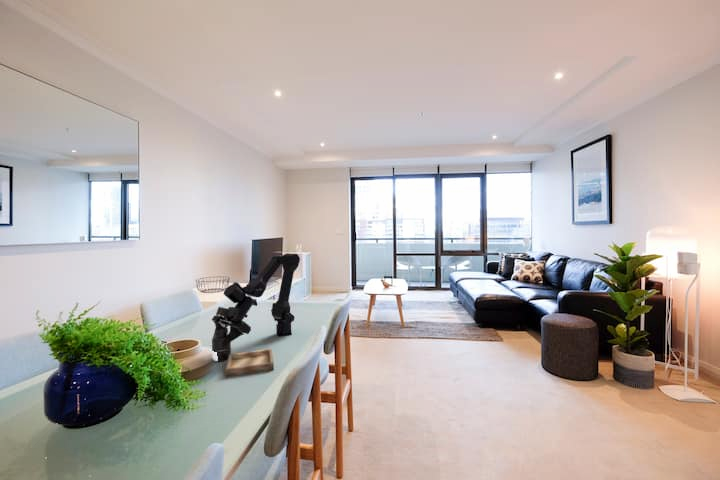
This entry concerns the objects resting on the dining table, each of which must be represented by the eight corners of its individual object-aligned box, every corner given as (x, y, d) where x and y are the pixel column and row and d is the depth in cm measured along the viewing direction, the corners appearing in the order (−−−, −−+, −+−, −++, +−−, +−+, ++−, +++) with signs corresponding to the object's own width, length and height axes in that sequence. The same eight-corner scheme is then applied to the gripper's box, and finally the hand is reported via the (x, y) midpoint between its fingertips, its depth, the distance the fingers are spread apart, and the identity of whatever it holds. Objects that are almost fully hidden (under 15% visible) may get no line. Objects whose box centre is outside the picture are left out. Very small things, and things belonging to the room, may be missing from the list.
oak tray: (271, 354, 127) (271, 348, 127) (273, 369, 114) (273, 363, 114) (229, 360, 122) (229, 354, 122) (226, 377, 109) (225, 370, 109)
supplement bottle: (219, 364, 119) (218, 333, 119) (208, 360, 123) (207, 330, 122) (234, 357, 125) (233, 327, 124) (224, 353, 129) (223, 325, 128)
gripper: (215, 296, 131) (190, 329, 122) (243, 301, 121) (218, 338, 112) (232, 310, 138) (209, 342, 129) (260, 316, 128) (238, 352, 119)
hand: (218, 343), depth 122 cm, fingers closed on supplement bottle, 7 cm apart
